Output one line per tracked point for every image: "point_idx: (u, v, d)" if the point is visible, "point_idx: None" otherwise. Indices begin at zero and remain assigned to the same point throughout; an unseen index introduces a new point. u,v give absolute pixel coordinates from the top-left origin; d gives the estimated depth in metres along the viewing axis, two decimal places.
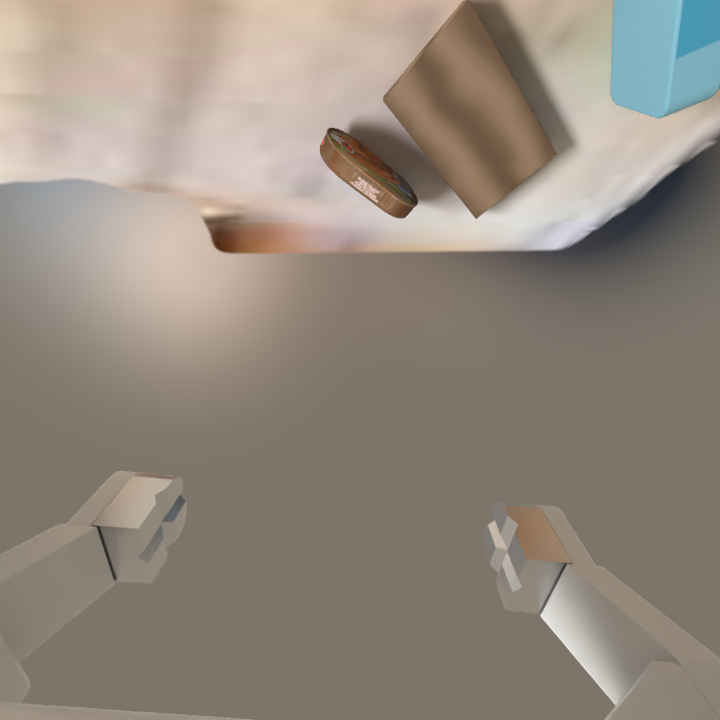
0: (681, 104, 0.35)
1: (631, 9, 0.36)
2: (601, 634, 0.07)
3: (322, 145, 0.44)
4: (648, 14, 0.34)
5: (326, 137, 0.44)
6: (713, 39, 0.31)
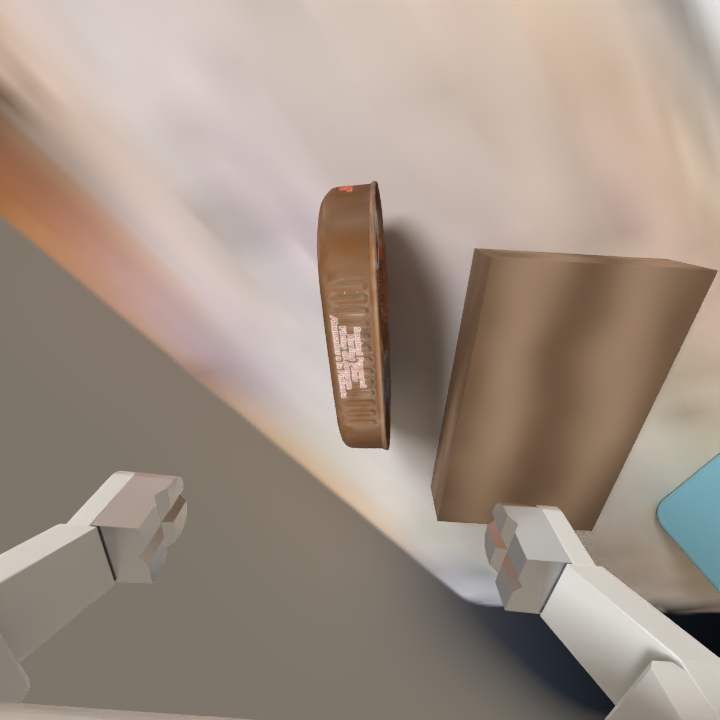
0: None
1: None
2: (601, 634, 0.07)
3: (342, 191, 0.16)
4: None
5: (365, 188, 0.16)
6: None
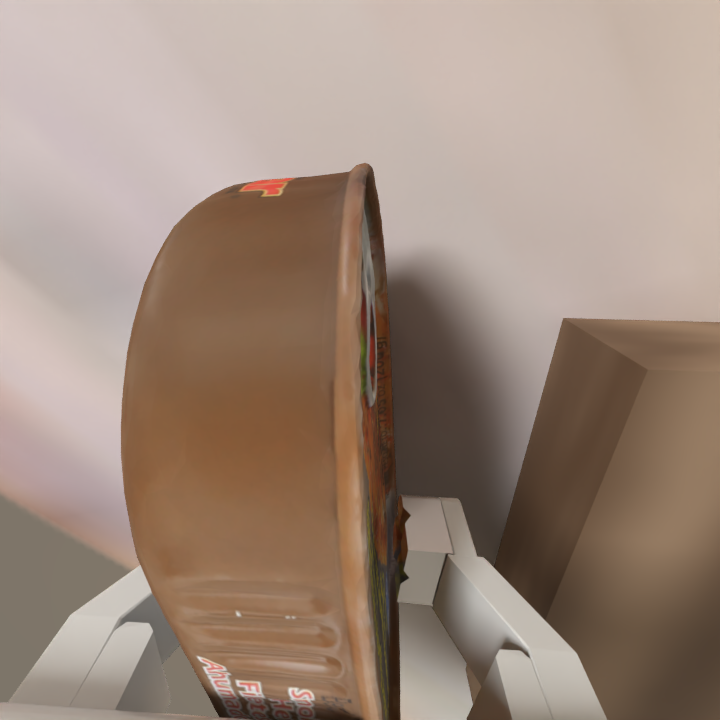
0: None
1: None
2: (474, 624, 0.07)
3: (247, 197, 0.04)
4: None
5: (329, 186, 0.04)
6: None
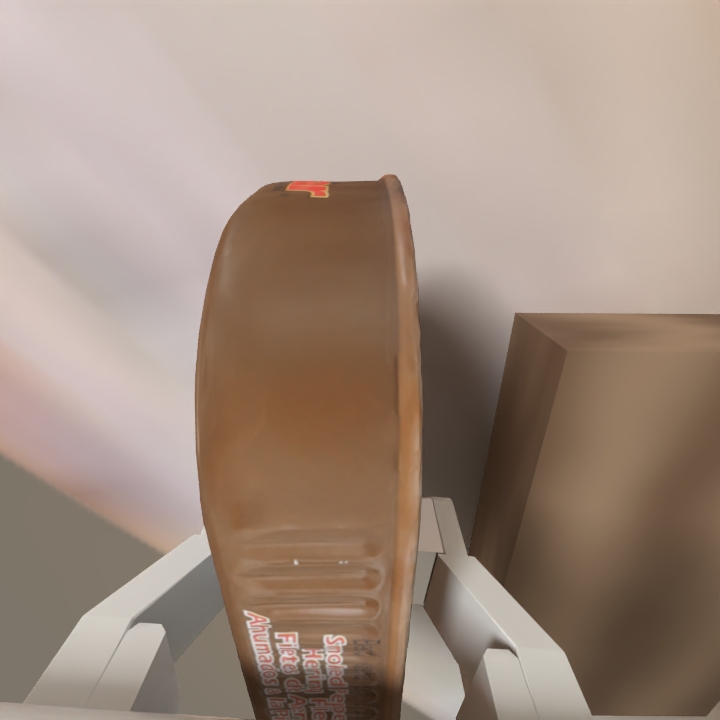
0: None
1: None
2: (464, 624, 0.07)
3: (297, 196, 0.05)
4: None
5: (370, 193, 0.05)
6: None
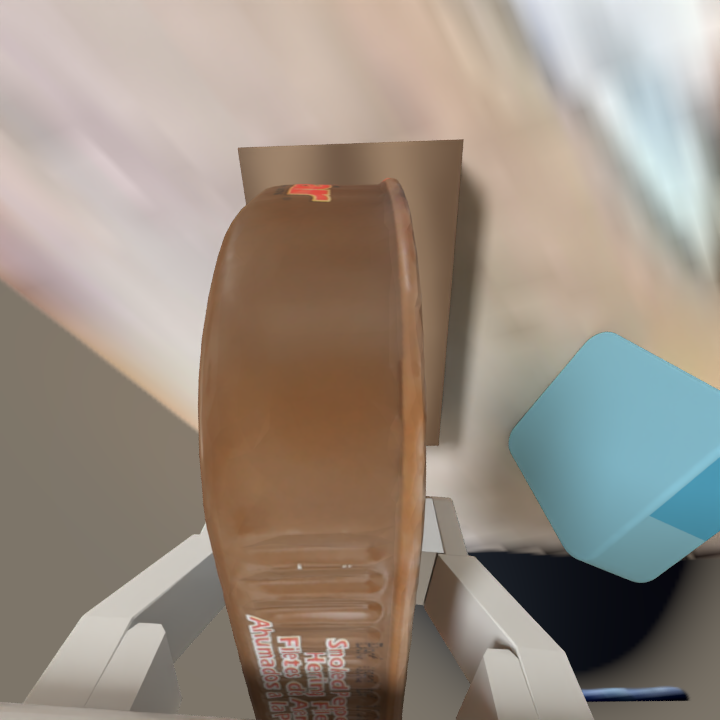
0: (605, 567, 0.20)
1: (605, 380, 0.23)
2: (464, 624, 0.07)
3: (299, 200, 0.05)
4: (633, 414, 0.21)
5: (372, 197, 0.05)
6: (693, 530, 0.18)
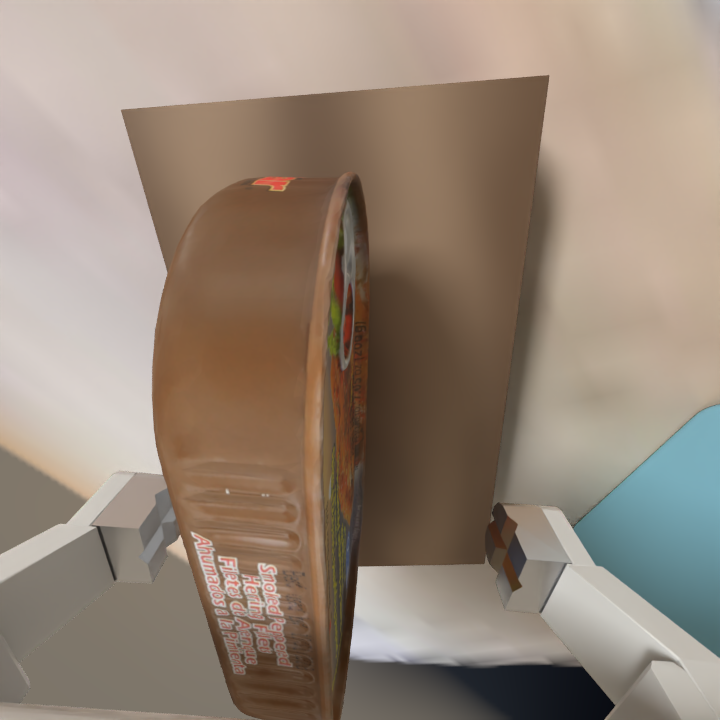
0: None
1: None
2: (601, 634, 0.07)
3: (258, 189, 0.06)
4: None
5: (321, 188, 0.06)
6: None
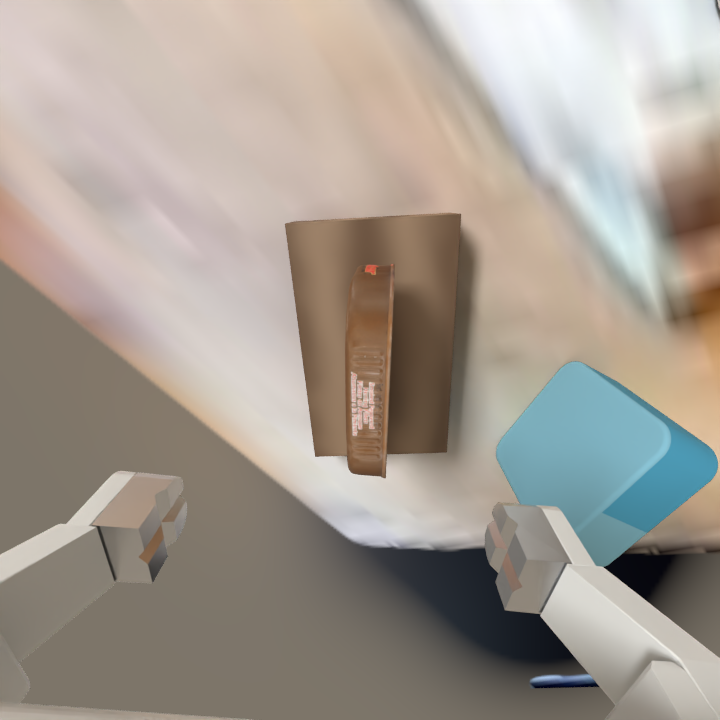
0: None
1: (573, 402, 0.29)
2: (601, 634, 0.07)
3: (367, 274, 0.20)
4: (593, 431, 0.26)
5: (386, 273, 0.20)
6: (636, 524, 0.23)
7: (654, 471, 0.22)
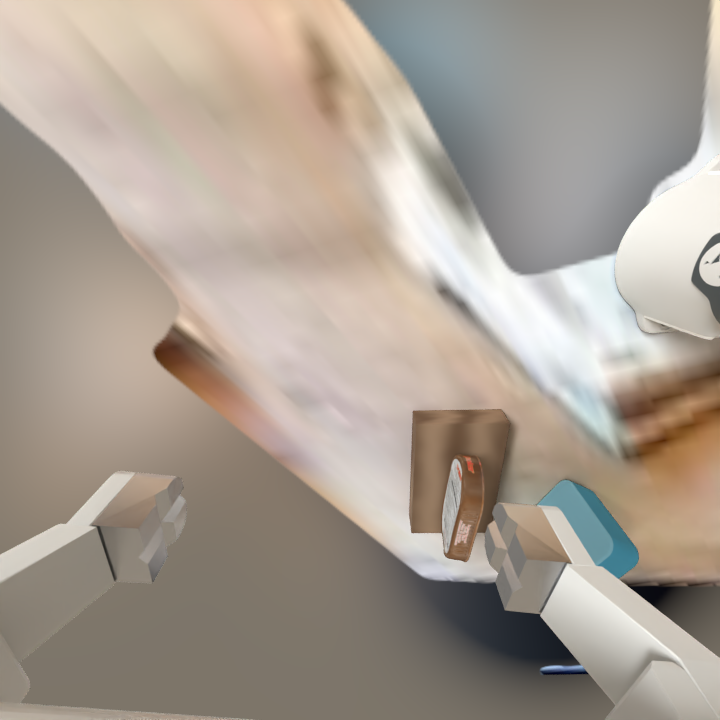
0: None
1: (566, 509, 0.50)
2: (601, 634, 0.07)
3: (470, 472, 0.41)
4: (576, 531, 0.47)
5: (479, 472, 0.41)
6: None
7: (605, 562, 0.43)
